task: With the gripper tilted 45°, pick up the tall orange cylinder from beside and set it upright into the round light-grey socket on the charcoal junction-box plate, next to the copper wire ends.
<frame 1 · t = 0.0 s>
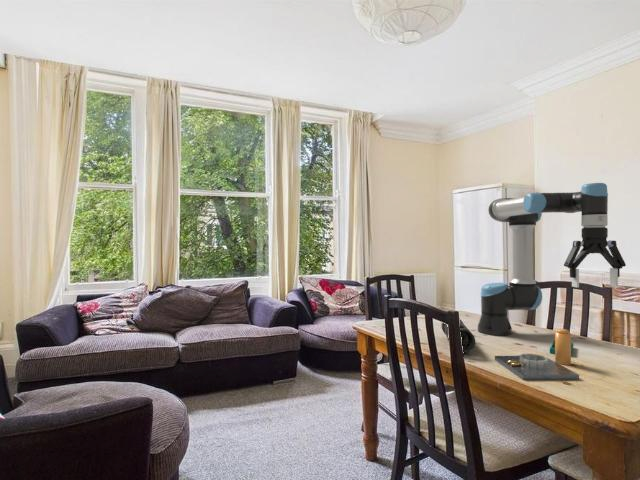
hand: (594, 287, 135), 28 cm above the table, tool pointing down, fingers open, 13 cm apart
orange cylinder: (563, 362, 138), on the table
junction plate: (533, 368, 132), on the table
muzzle brake: (457, 345, 162), on the table
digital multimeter: (561, 352, 153), on the table
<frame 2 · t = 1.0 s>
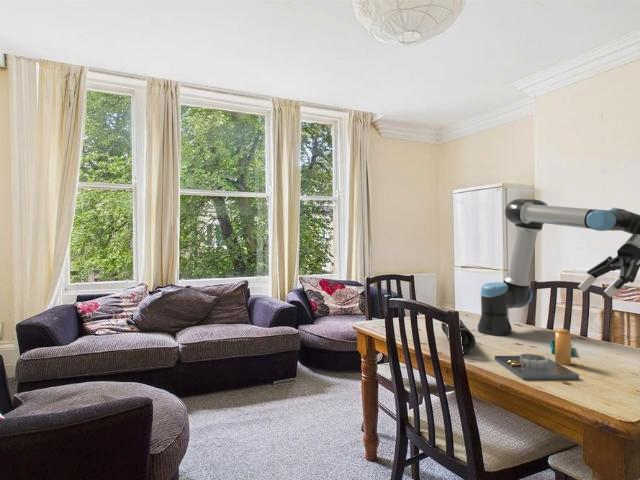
hand: (593, 291, 138), 26 cm above the table, tool tilted 45°, fingers open, 13 cm apart
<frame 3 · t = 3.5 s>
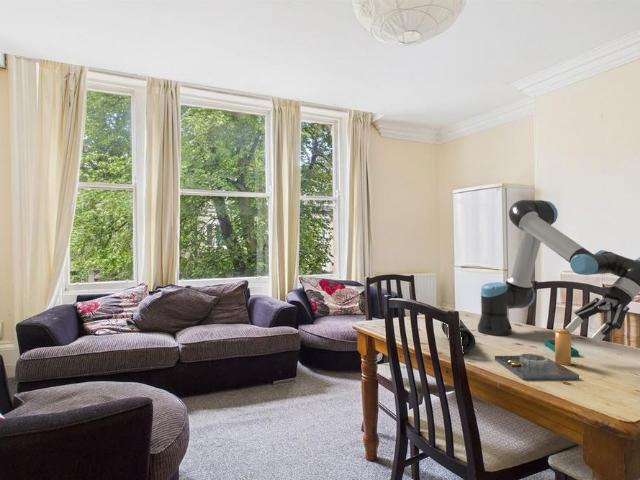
hand: (580, 335, 137), 10 cm above the table, tool tilted 45°, fingers open, 13 cm apart
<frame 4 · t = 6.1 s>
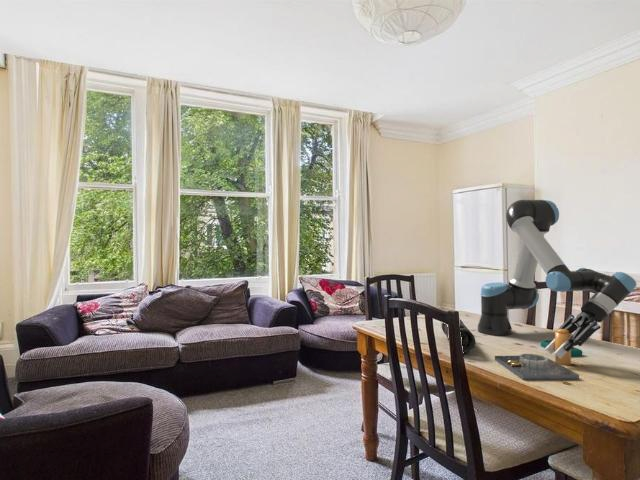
hand: (552, 353, 138), 3 cm above the table, tool tilted 45°, fingers closed on orange cylinder, 5 cm apart
orange cylinder: (563, 362, 138), on the table, touching gripper
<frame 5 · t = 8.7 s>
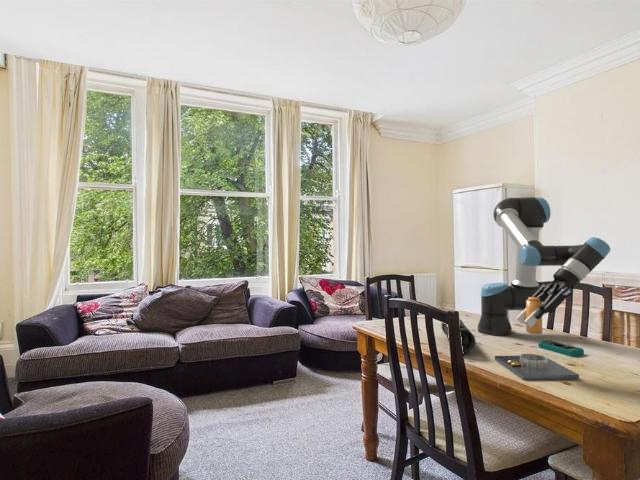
hand: (523, 322, 132), 16 cm above the table, tool tilted 45°, fingers closed on orange cylinder, 5 cm apart
orange cylinder: (534, 332, 132), point 13 cm above the table, touching gripper
when the fingers open (6 cm above the table, at t = 11.3 s): orange cylinder drops 1 cm, resting on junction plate.
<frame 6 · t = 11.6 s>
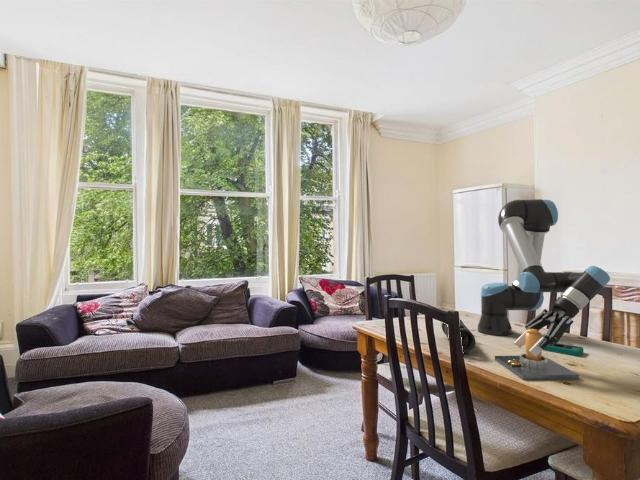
hand: (524, 349, 132), 7 cm above the table, tool tilted 45°, fingers open, 9 cm apart
orange cylinder: (533, 364, 132), point 2 cm above the table, touching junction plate
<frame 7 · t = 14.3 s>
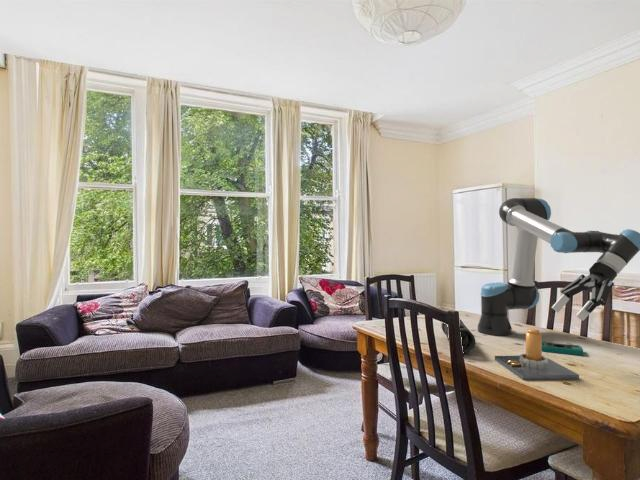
hand: (566, 313, 133), 19 cm above the table, tool tilted 40°, fingers open, 13 cm apart
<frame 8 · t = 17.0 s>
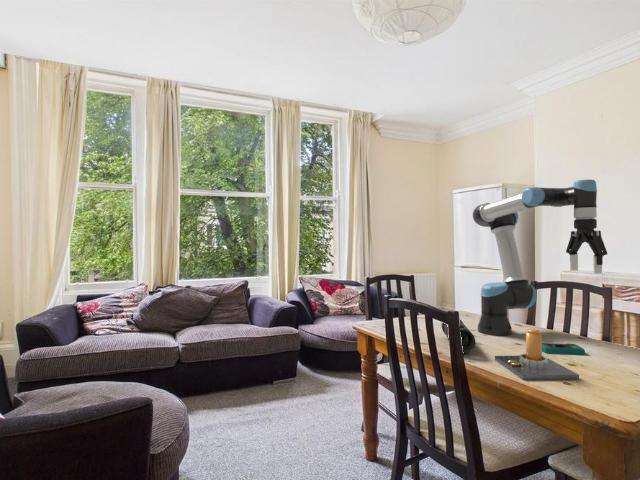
hand: (585, 271, 152), 32 cm above the table, tool pointing down, fingers open, 13 cm apart
at the end: orange cylinder 0.1 cm off-centre on the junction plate, point 1.5 cm above the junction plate's base; orange cylinder tilted 0°; the gripper is holding nothing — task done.
